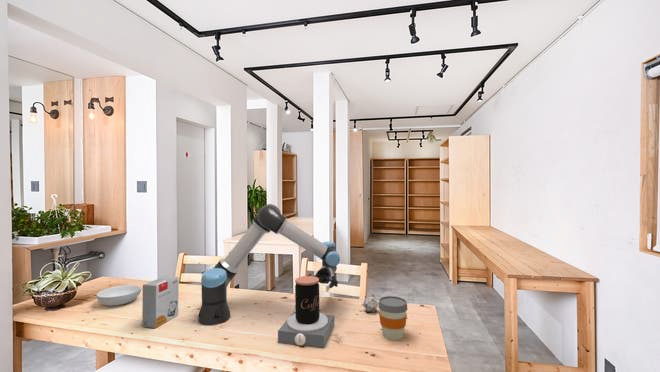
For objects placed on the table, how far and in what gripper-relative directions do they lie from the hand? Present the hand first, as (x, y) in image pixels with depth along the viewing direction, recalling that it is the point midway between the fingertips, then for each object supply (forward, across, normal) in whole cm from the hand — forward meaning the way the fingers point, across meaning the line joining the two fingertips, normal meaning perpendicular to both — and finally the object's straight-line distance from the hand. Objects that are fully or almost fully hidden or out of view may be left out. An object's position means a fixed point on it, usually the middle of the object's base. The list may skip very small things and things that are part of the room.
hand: (312, 287), depth 145 cm
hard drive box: (+12, +74, -18) cm, 77 cm away
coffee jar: (+8, 0, -12) cm, 14 cm away
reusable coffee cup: (+1, -37, -18) cm, 41 cm away
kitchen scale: (+8, 0, -18) cm, 20 cm away
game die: (-22, -24, -18) cm, 38 cm away
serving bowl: (-3, +115, -18) cm, 117 cm away
